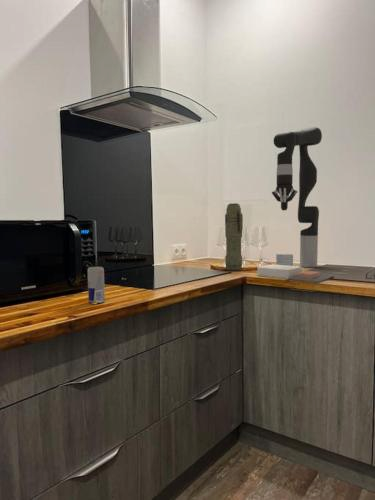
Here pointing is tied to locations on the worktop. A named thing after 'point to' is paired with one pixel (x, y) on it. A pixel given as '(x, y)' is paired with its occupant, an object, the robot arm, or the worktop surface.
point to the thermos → (233, 237)
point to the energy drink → (96, 285)
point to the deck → (278, 271)
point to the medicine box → (284, 259)
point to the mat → (314, 280)
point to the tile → (308, 274)
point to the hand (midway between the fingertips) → (284, 210)
